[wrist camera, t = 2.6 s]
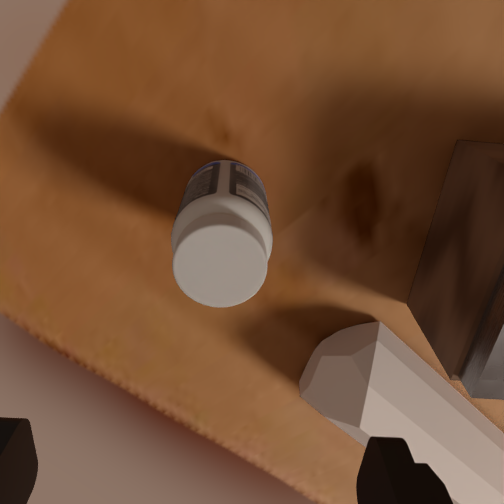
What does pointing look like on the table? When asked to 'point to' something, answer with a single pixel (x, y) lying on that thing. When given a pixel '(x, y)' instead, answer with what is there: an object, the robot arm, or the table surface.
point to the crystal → (405, 409)
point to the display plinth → (466, 271)
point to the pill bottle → (222, 235)
